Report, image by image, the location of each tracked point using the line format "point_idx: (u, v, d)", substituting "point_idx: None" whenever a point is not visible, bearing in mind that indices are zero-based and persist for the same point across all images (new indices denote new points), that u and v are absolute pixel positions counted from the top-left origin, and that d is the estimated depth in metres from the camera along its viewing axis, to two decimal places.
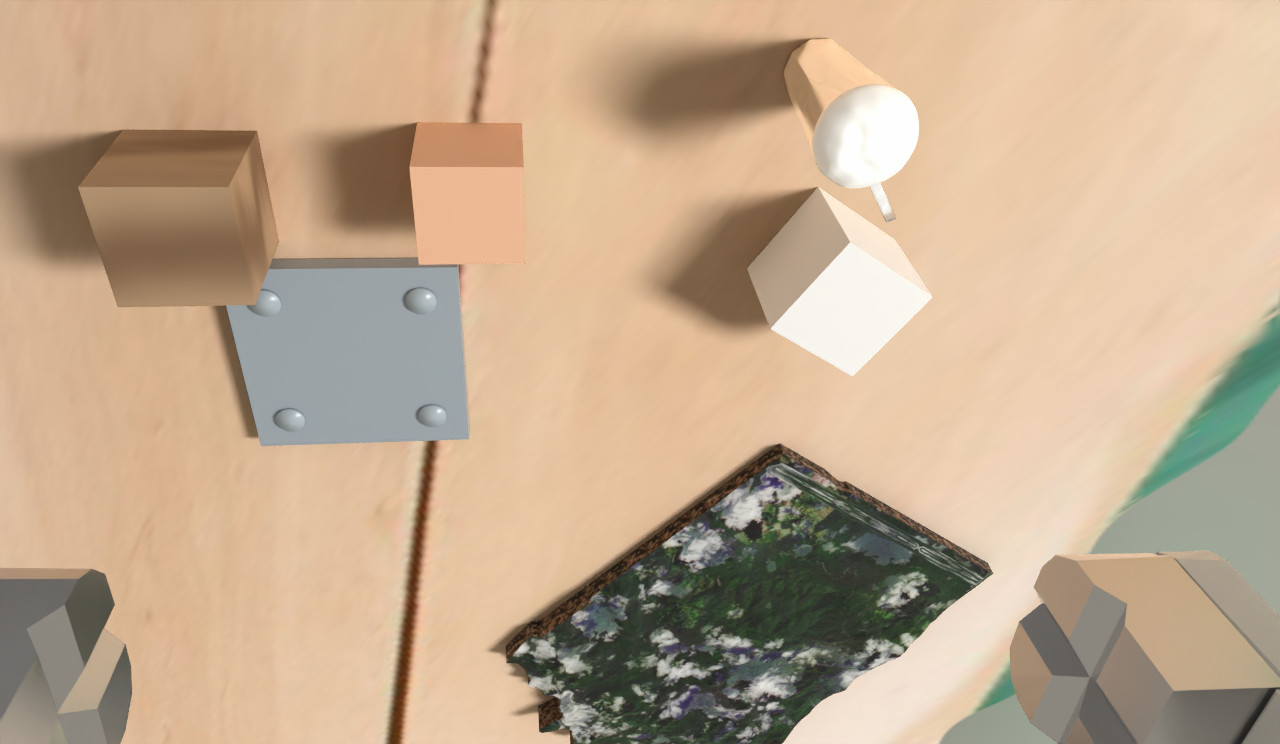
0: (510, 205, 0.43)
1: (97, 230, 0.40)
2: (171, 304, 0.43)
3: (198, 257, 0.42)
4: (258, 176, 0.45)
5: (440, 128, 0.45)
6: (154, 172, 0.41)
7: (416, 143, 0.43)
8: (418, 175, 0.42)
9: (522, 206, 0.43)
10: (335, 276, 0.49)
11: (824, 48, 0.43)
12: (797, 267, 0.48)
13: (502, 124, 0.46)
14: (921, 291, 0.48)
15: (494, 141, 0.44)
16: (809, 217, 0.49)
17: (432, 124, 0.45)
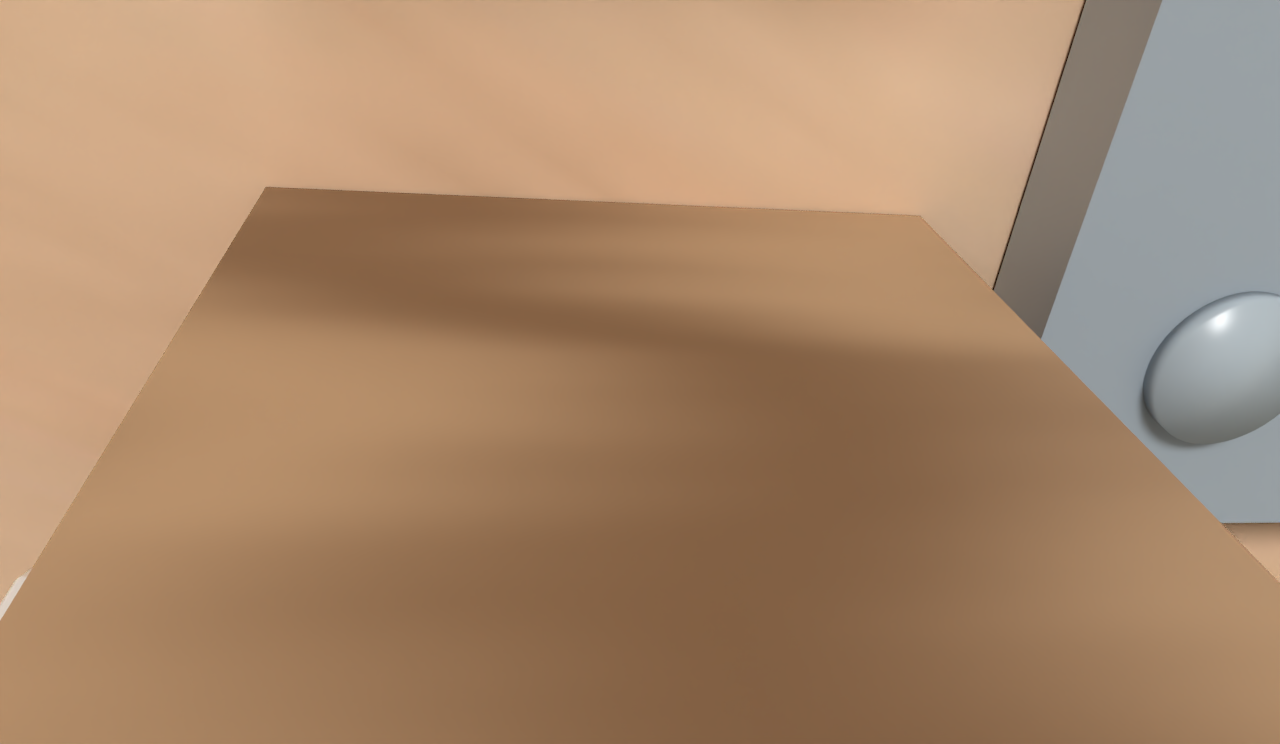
0: None
1: None
2: None
3: None
4: (465, 258, 0.07)
5: None
6: None
7: None
8: None
9: None
10: None
11: None
12: None
13: None
14: None
15: None
16: None
17: None
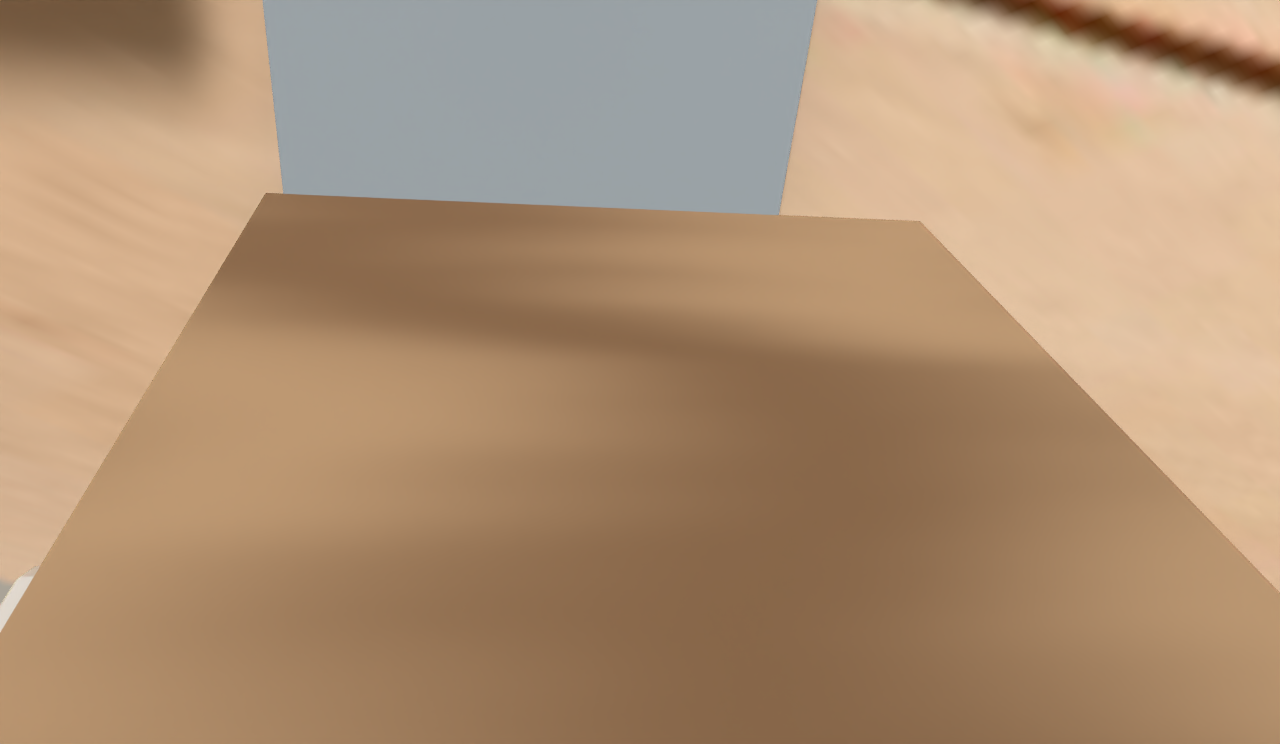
0: None
1: None
2: None
3: None
4: (465, 265, 0.07)
5: None
6: None
7: None
8: None
9: None
10: (295, 103, 0.21)
11: None
12: None
13: None
14: None
15: None
16: None
17: None
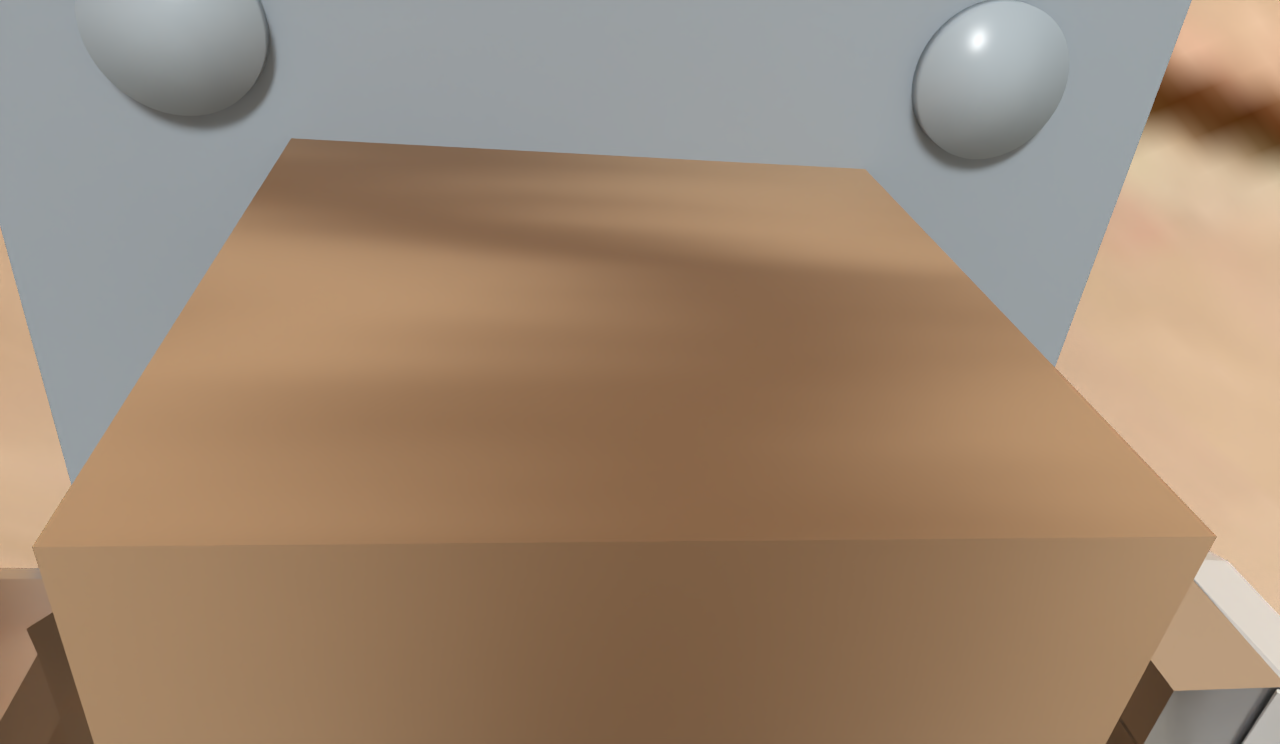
0: None
1: None
2: None
3: None
4: (464, 194, 0.08)
5: None
6: None
7: None
8: None
9: None
10: (94, 405, 0.11)
11: None
12: None
13: None
14: None
15: None
16: None
17: None
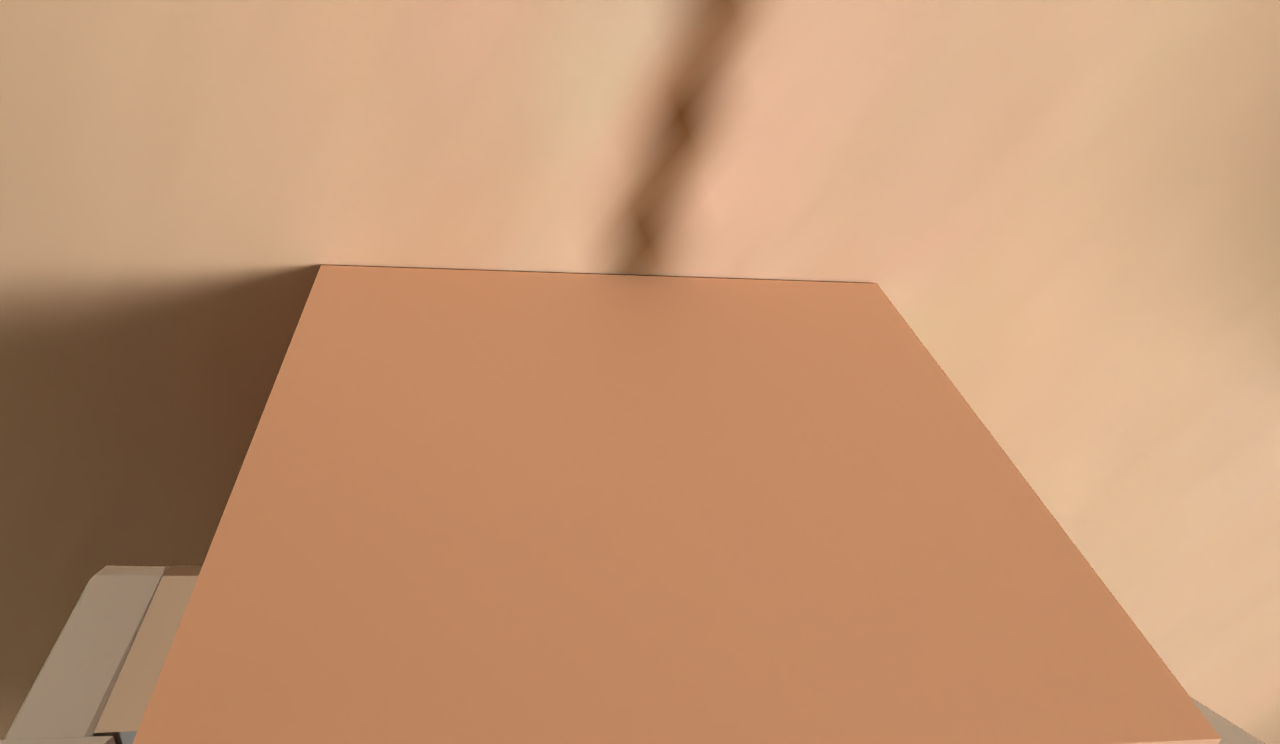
0: None
1: None
2: None
3: None
4: None
5: (452, 310, 0.08)
6: None
7: (276, 436, 0.06)
8: None
9: None
10: None
11: None
12: None
13: (788, 291, 0.08)
14: None
15: (808, 413, 0.07)
16: None
17: (406, 283, 0.08)
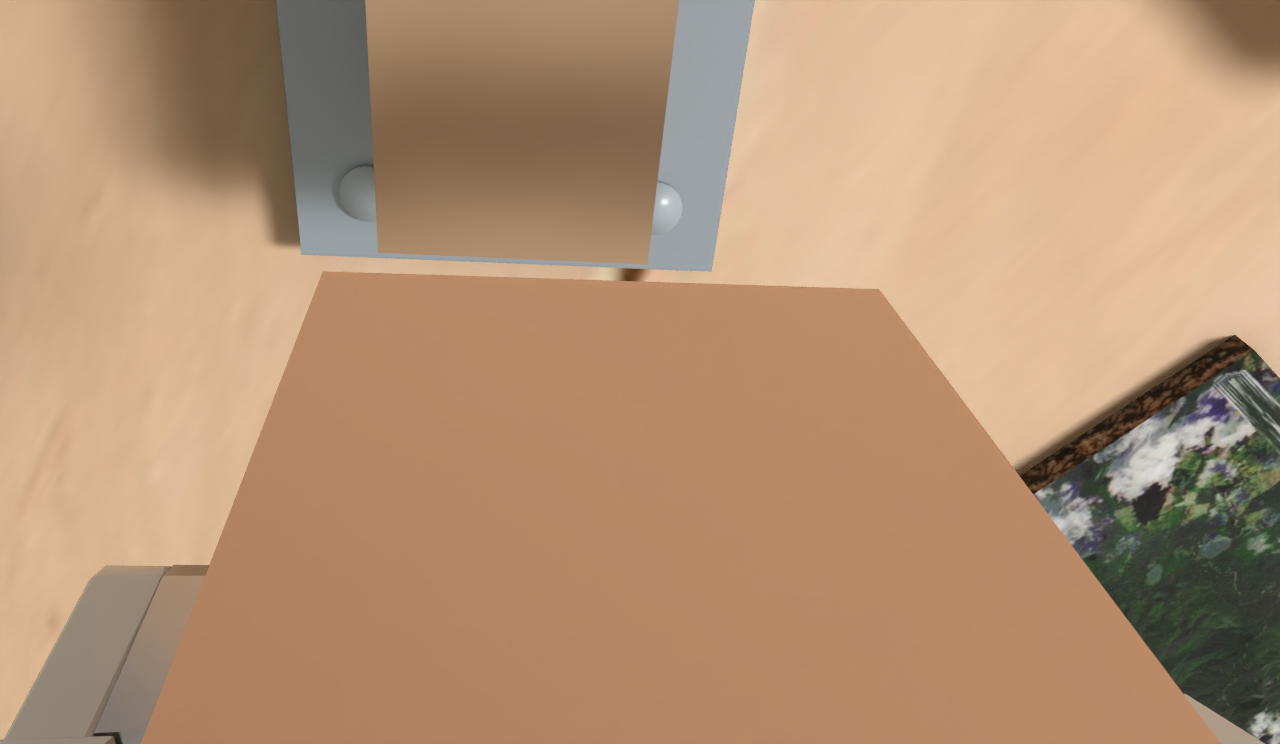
0: None
1: (380, 72, 0.19)
2: (486, 254, 0.21)
3: (569, 151, 0.20)
4: None
5: (454, 317, 0.08)
6: None
7: (278, 445, 0.06)
8: None
9: None
10: None
11: None
12: None
13: (790, 297, 0.08)
14: None
15: (810, 422, 0.07)
16: None
17: (408, 290, 0.08)
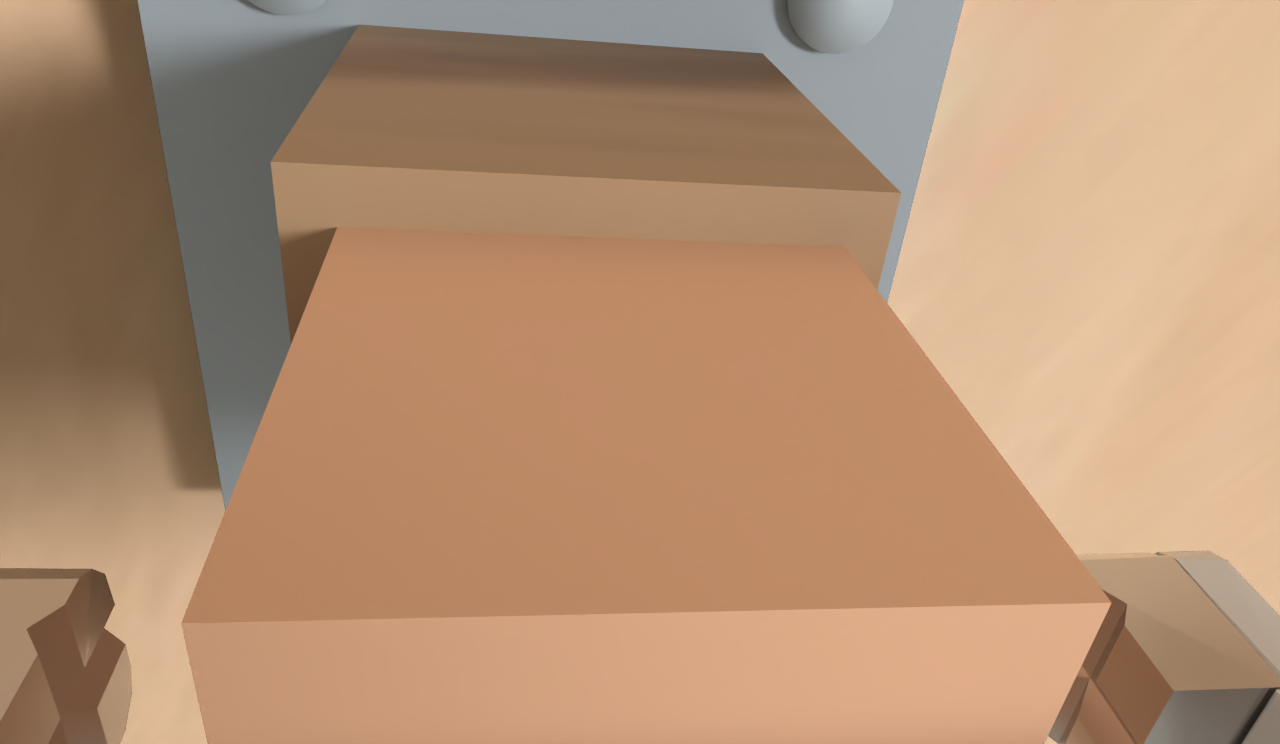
0: None
1: None
2: None
3: None
4: None
5: (456, 266, 0.08)
6: (557, 131, 0.10)
7: (303, 364, 0.07)
8: (265, 678, 0.05)
9: None
10: None
11: None
12: None
13: (763, 252, 0.09)
14: None
15: (774, 353, 0.08)
16: None
17: (414, 243, 0.09)
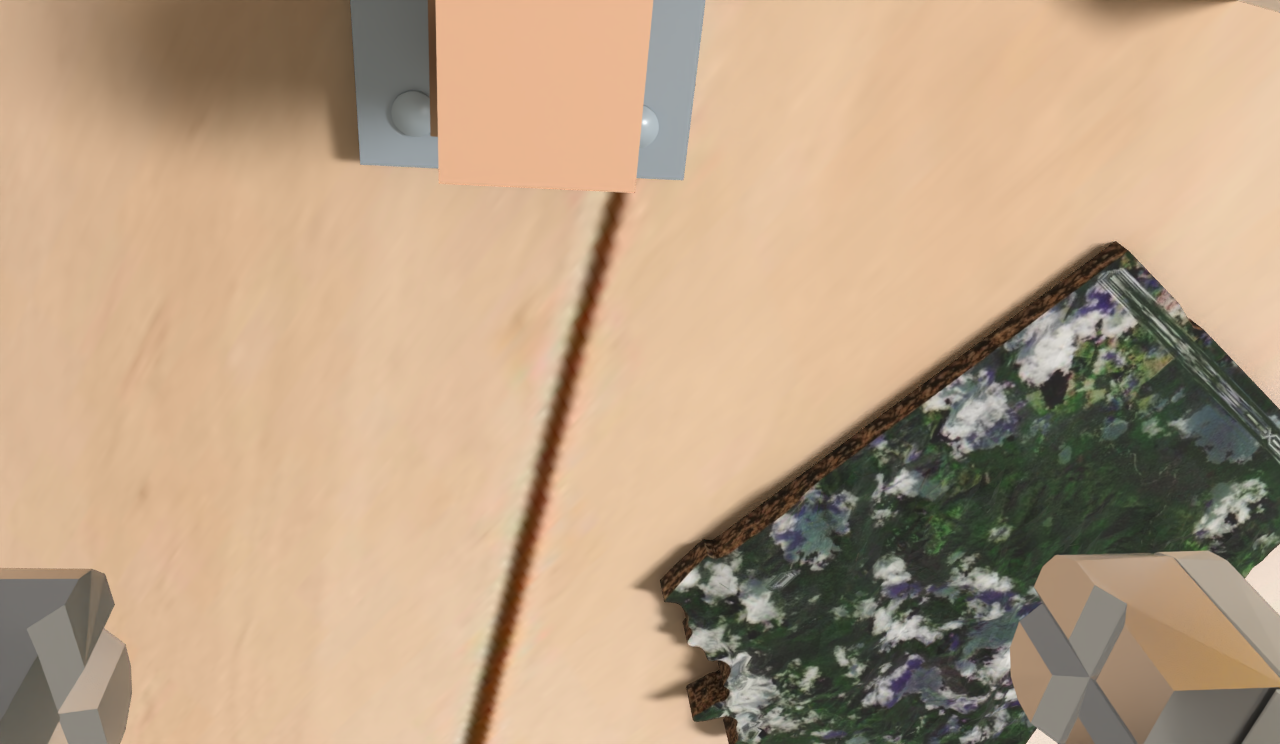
0: (622, 69, 0.23)
1: None
2: None
3: None
4: None
5: None
6: None
7: None
8: None
9: (643, 73, 0.23)
10: None
11: None
12: None
13: None
14: None
15: None
16: None
17: None
